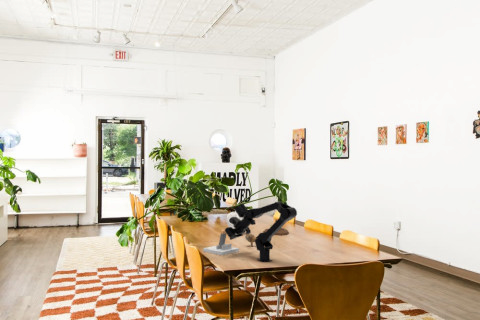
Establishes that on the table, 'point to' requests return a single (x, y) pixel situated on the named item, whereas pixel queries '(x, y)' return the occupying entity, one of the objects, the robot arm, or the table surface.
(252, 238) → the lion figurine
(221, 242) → the lever
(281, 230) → the plant
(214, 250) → the switch plate
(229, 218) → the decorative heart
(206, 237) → the table surface
